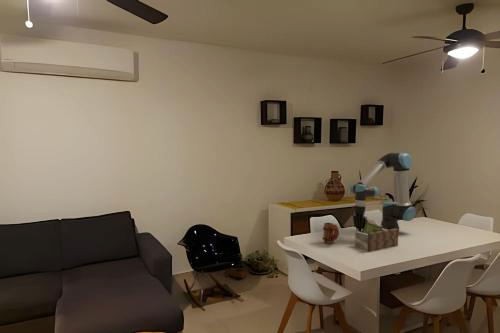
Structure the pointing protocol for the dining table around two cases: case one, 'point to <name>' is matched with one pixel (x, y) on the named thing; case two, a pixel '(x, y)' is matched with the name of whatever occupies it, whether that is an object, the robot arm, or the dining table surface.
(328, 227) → the reddish-brown rounded piece
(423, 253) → the dining table surface
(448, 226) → the dining table surface
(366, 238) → the patterned planter box
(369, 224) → the tea box
